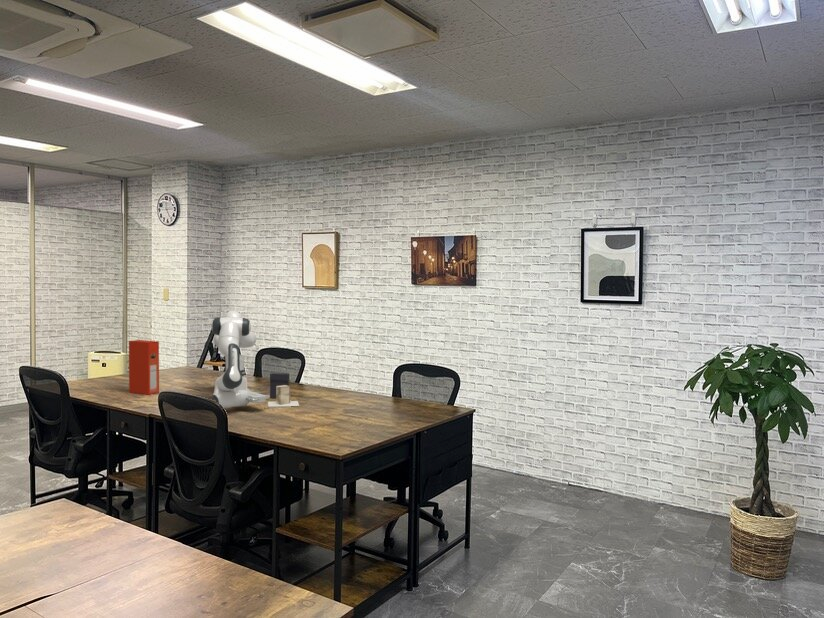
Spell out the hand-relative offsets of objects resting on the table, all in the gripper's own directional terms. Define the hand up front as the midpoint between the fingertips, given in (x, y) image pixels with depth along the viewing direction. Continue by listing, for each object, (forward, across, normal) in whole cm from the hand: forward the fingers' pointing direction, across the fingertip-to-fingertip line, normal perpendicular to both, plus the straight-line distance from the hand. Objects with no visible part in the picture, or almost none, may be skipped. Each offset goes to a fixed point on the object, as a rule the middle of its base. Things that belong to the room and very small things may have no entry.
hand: (264, 395), depth 355 cm
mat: (+12, 0, +7) cm, 14 cm away
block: (+12, 0, +6) cm, 13 cm away
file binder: (-36, +83, +7) cm, 90 cm away
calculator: (+21, +18, +7) cm, 28 cm away
